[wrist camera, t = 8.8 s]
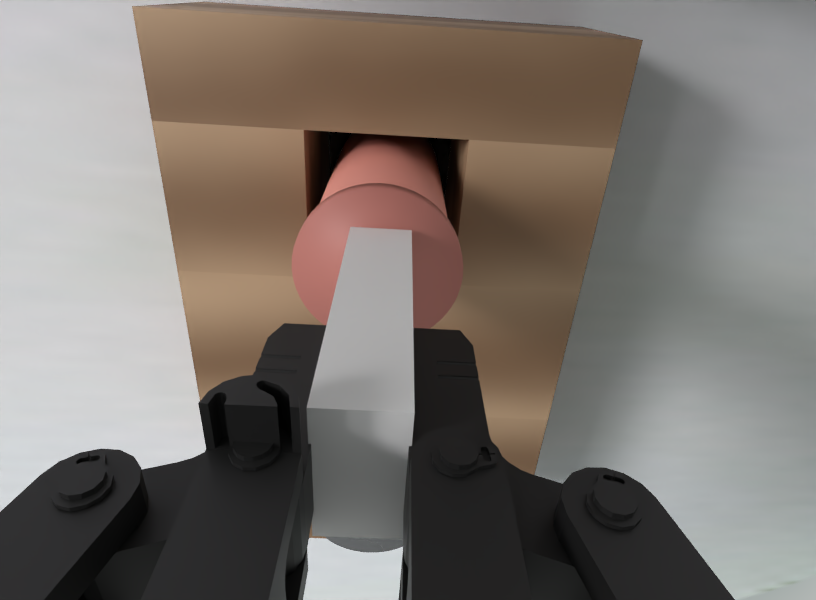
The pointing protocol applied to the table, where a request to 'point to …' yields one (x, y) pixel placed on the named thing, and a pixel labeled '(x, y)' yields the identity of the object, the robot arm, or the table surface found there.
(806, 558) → the table surface
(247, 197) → the socket block
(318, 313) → the plug red
